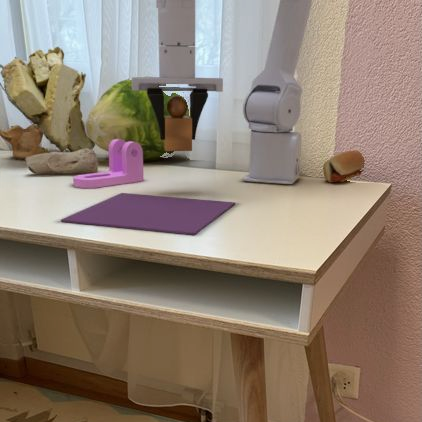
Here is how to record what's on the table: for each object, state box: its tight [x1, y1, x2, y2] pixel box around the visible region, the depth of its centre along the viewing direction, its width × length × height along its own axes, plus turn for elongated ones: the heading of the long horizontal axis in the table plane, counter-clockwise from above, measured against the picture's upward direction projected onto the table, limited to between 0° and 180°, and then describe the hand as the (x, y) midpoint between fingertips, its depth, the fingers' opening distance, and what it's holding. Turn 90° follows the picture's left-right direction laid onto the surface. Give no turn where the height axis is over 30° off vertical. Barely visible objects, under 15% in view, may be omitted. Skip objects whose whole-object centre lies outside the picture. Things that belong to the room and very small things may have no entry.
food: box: [322, 149, 365, 183], centre depth 118 cm, size 14×6×5 cm
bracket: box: [72, 139, 145, 189], centre depth 110 cm, size 13×6×7 cm, turn 134°
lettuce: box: [85, 78, 189, 162], centre depth 131 cm, size 17×23×17 cm
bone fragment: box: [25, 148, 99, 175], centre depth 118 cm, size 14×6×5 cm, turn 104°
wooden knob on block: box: [164, 96, 193, 152], centre depth 100 cm, size 4×4×8 cm
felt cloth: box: [60, 192, 236, 236], centre depth 91 cm, size 20×20×1 cm
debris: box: [0, 46, 96, 153], centre depth 129 cm, size 26×30×14 cm
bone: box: [0, 123, 49, 161], centre depth 134 cm, size 12×10×8 cm
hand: (177, 139), depth 101 cm, fingers closed on wooden knob on block, 4 cm apart
